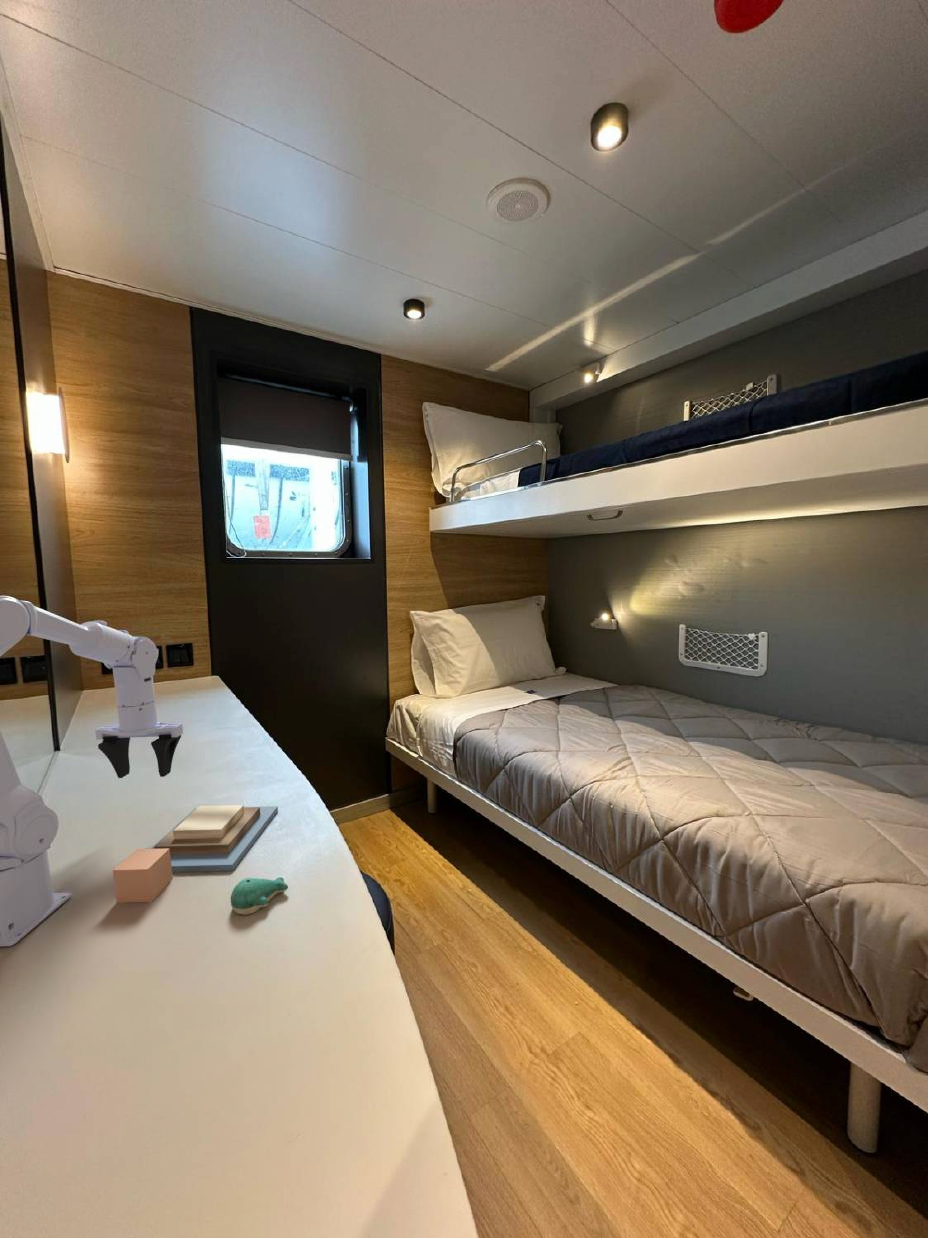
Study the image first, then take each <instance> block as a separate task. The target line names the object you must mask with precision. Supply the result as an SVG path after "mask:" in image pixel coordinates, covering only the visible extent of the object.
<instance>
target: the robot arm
mask: <svg viewBox="0 0 928 1238" xmlns="http://www.w3.org/2000/svg"><path fill="white" fill-rule="evenodd" d="M107 625H108V622H106V621H104V620H93V621H86V622H83V623H81V624H79V623H77V622H74V621H71V620H70V619H67V618H65V617H62V616H60V615H57V614H55V613H52V612H50V611H47V610H45V609H43V608H40V607H37V606H35V605H34V604H33V603H32V602H30V601H26V600H19V599H17V598H15V597H11V596H10V595H9V596H8V595H0V657H1V656H3V655H4V654H5V653H7V652H8V651H9V650H11V648H13V647H14V646H15V645H16V644H17V643H18V642H20V641H21V640H22V639H23V638H24V637H25V636H32V637H37V638H39V639H40V638H41V639H44V640H49V641H51V642H56V643H61V644H64V645H68V646H69V647H68V648H69V649H70V651H71V652H72V653H73V654H74V655H75V656H78V657H82V658H86V659H89V660H93V661H96V662H99V663H100V662H101V663H103V664H104V666H105V667H106V668H107V669H109V670H111V669H112V674H113V682H114V691H115V700H116V708H117V709H116V710H117V715H118V716H117V717H118V723H119V724H112V725H111V724H110V725H102V726H100V727H98V728H95V736H96V737H95V738H96V741H101V740H102V741H101V742H100V743H98V745H97V746H98V747H97V748H98V750H99V751H101V752H102V753H103V754H104V755H105V757H106V758H107V759H108V761H109V762H110V764H111V766H112V767H113V769H114V772H115V774H116V776H117V778H118V779H123V778H124V777H126V776H128V775H129V774H130V770H131V769H130V768H131V767H130V766H131V764H130V756H129V755H130V754H129V753H130V751H129V750H130V749H129V748H130V742H131V738H152V737H156V739H154V740H153V741H151V742H150V745H151V748H152V749H153V752H154V754H155V756H156V757H155V758H156V761H157V769H158V770H157V771H158V773H159V777H160V778H164V777H166V776H168V775H169V774H170V773H171V771H172V765H173V759H174V755H175V752H176V749H177V746H178V743H179V742H180V739H181V738H182V735H183V734H184V727H183V723H175V722H174V723H173V722H165V721H164V722H163V721H159V720H158V715H157V705H156V703H157V702H156V695H155V694H156V693H155V684H154V677H153V676H155V673H156V664H157V661H158V657H159V654H160V653H159V651H160V650H159V648H157V646H156V644H155V642H154V641H152V640H151V639H150V638H149V637H146V636H132V634H129V631H127V630H125V629H119V630H118V629H115V628H113V627H110V626H107ZM157 737H158V738H157ZM58 829H59V817H58V814H57V813H56V812H55V810H53V809H52V808H50V807H48V806H47V805H46V803H45V801H44V799H43V797H42V796H41V794H38V793H37V792H35V790H33V789H31V788H29V787H28V786H26V785H25V784H23V783H22V782H21V780H20V777H19V775H18V773H17V770H16V767H15V765H14V762H13V759H12V757H11V754H10V752H9V750H8V747H7V745H6V742H5V739H4V736H3V734H2V731H1V730H0V947H11V946H14V945H15V944H17V943H18V942H19V941H20V940H21V939H23V938H24V937H25V936H26V935H27V934H29V932H31V931H32V930H33V929H34V928H35V927H37V926H38V925H39V924H40V923H41V922H42V921H44V920H45V919H46V918H48V916H50V915H51V914H52V913H53V912H54V911H55V910H57V909H58V908H59V907H60V906H62V905H63V903H65V902H66V901H67V900H69V899H70V898H71V897H72V893H71V892H54V888H53V887H54V886H53V881H52V874H51V867H50V861H49V854H48V850H49V849H50V848H51V844H52V843H53V842H54V840H55V838H56V836H57V833H58V831H59V830H58Z"/></svg>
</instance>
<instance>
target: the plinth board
mask: <svg viewBox="0 0 928 1238" xmlns="http://www.w3.org/2000/svg"><path fill="white" fill-rule="evenodd" d="M278 807H279V806H278V805H275V806H274V805H272V806H245V805H244V804H235V805H234V804H233V805H229V804H228V805H200V806H198V807H197V808H194V809H193V810H191V811H190V812H189V813H188V814H187V815H186V816H185V817H184V818H183V819H181V821H180V822H178V823H177V824H176V825H175V826H174V827H173V828H172V829H171V830H170V831H168V832H167V833H166V834H165V835H164V836H163V837H162V838H161V839H160V840H158V841H157V842H156V843H155V844H154V845H153V846H151V848H150V849H167V848H169V849H170V858H171V866H172V873H188V872H189V873H191V872H192V873H193V872H231V871H232V872H233V871H234V870H235V868H236V867H237V866H238V865H239V864H240V862H241V861H242V860H243V858H244V857H245V855H246V854H247V853H248V851H249V850H250V849H251V847H252V846H253V844H254V843H255V842H256V841H257V840H258V838H259V837H260V836H261V834H262V833H263V831H264V830H265V829H266V828H267V827H268V825H269V824H270V823H271V821H272V820H273V819H274V818H275V816H276V814H277V813H278V812H279V808H278Z"/></svg>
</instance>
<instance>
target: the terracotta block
mask: <svg viewBox="0 0 928 1238" xmlns="http://www.w3.org/2000/svg"><path fill="white" fill-rule="evenodd" d="M112 873H113V881H114V882H113V883H114V890H115V899H116V903H142V902H143V903H145V902H146V903H147V902H149V903H150V902H153V901H154V900H155V899H156V897H158V895H159V894H160V893H161V892H162V891H163V889H165V887H167V886H168V884H169V883H171V882H172V880H173V879H174V877H173V872H172V866H171V858H170V849H169V848H167V849H151V848H140V849H139V848H138V849H135V850H134V851H133V852H132V853H131V854H129V855H128V856H127V857H126V858H124V860H123V861H122V862H120V863H119V864H118V865H117V866H116V867H115V868H114V869H112Z"/></svg>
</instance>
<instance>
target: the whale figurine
mask: <svg viewBox="0 0 928 1238" xmlns="http://www.w3.org/2000/svg"><path fill="white" fill-rule="evenodd" d="M287 890H289V886H288V884H287V883H285V880H284V878H283V877H281V876H280V877H276V878H275V879H268V878H267V879H266V878H257V877H256V878H254V877H252V878H251V877H249V878H247V877H246V878H244V879H242V880H240V881H238V883H236V885H235V886H234V888H233V889H232V891H231V894H230V906H231V909H232V910H233V911H234V912H235V913H237V914H239V915H242V916H245V915H252V914H254V913H256V912H257V911H259V909H261V908H265V907H267V906H268V904H269V902H270V901H272V899H273V898H274V897H275V896H276V895H277V894H280V893H284V892H286V891H287Z"/></svg>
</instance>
